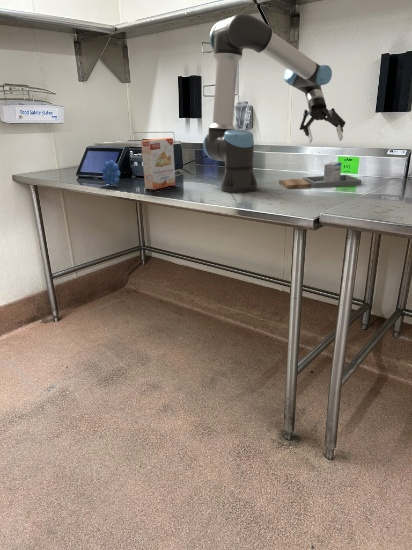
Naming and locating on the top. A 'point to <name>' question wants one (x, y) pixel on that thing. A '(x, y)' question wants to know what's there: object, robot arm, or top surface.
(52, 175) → the top surface
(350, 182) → the bin
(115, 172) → the grapes
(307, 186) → the walnut board
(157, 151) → the cracker box
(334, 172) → the medicine box
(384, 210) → the top surface
